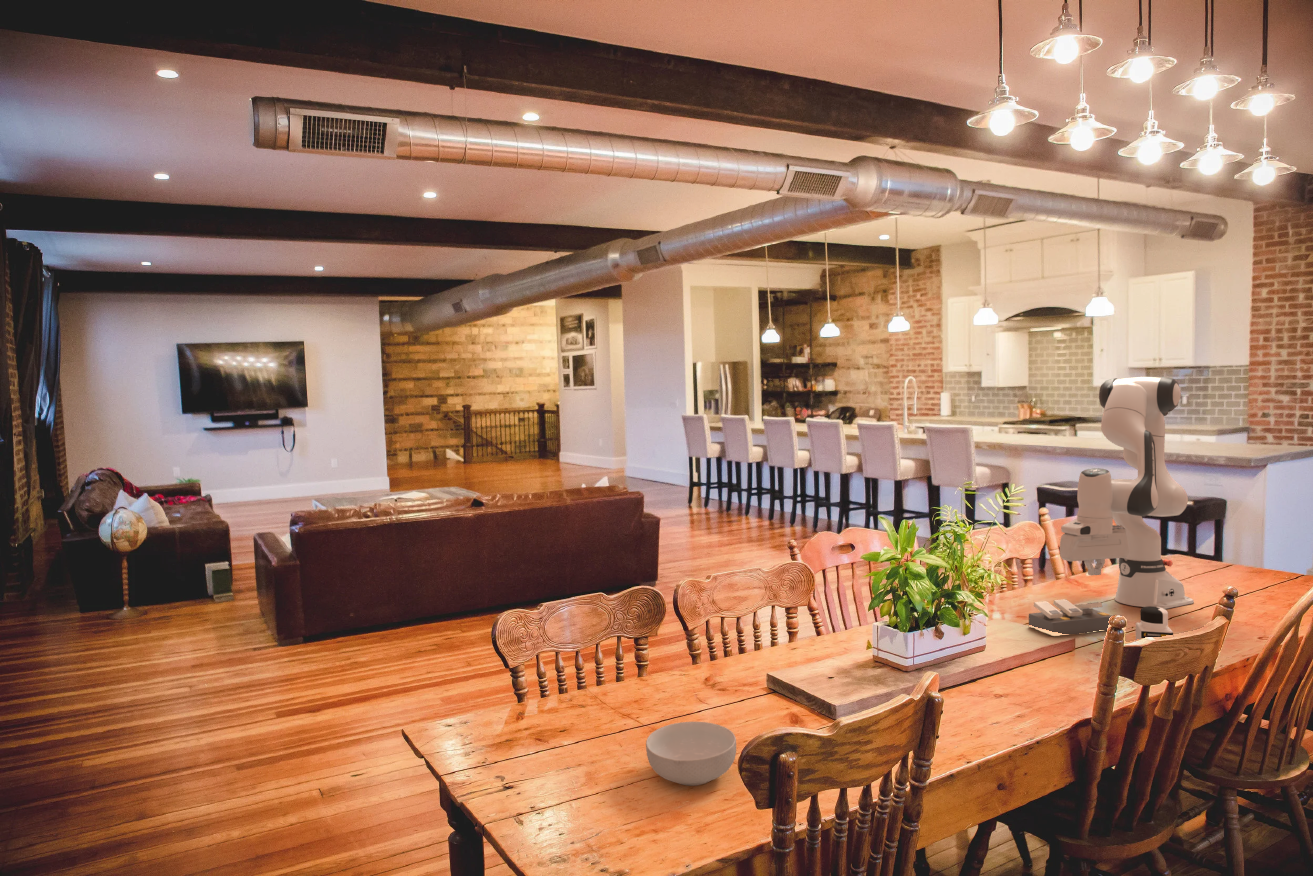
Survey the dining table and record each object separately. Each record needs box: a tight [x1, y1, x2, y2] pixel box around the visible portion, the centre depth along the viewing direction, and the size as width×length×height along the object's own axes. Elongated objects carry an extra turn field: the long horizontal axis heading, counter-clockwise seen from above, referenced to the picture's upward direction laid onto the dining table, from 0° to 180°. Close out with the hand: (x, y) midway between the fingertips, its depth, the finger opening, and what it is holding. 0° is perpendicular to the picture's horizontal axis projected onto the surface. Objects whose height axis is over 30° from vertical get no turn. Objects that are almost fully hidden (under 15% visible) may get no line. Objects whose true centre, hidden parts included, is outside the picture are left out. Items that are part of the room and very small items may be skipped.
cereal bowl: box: [645, 721, 737, 787], centre depth 151 cm, size 17×17×7 cm
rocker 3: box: [1073, 601, 1103, 609], centre depth 234 cm, size 4×7×1 cm, turn 13°
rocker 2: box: [1052, 598, 1083, 616], centre depth 232 cm, size 4×7×1 cm, turn 13°
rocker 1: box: [1033, 600, 1063, 619], centre depth 231 cm, size 4×7×1 cm, turn 13°
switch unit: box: [1028, 608, 1113, 635], centre depth 233 cm, size 20×10×5 cm, turn 103°
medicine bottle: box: [1135, 606, 1174, 641], centre depth 209 cm, size 7×7×12 cm
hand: (1094, 574), depth 230 cm, fingers closed
